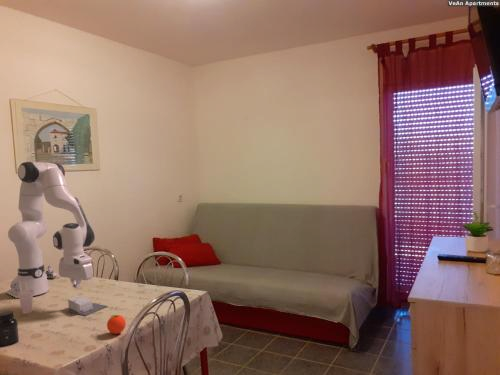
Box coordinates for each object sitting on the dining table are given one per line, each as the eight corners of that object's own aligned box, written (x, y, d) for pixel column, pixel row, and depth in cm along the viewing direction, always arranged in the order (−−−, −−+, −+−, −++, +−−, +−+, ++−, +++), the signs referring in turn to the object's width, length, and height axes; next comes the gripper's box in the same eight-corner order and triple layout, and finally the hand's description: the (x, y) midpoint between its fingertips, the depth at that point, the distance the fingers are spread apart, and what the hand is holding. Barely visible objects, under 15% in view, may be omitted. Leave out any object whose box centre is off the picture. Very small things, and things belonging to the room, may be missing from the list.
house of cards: (64, 274, 244) (63, 262, 244) (55, 278, 236) (54, 266, 235) (51, 274, 246) (50, 262, 245) (42, 278, 237) (41, 266, 237)
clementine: (103, 332, 153) (102, 315, 152) (120, 327, 158) (118, 309, 157) (112, 338, 147) (111, 320, 147) (129, 332, 152) (128, 314, 152)
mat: (66, 311, 178) (66, 310, 178) (89, 303, 188) (88, 302, 188) (85, 316, 171) (85, 315, 171) (107, 306, 182) (107, 305, 182)
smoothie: (38, 310, 181) (36, 280, 180) (26, 315, 175) (24, 285, 174) (28, 309, 183) (25, 280, 182) (15, 314, 177) (13, 284, 176)
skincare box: (80, 295, 186) (92, 299, 178) (80, 304, 186) (93, 309, 178) (67, 299, 181) (79, 303, 173) (68, 308, 181) (80, 313, 173)
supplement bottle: (-6, 350, 142) (-8, 317, 141) (1, 342, 148) (-2, 311, 148) (15, 346, 144) (13, 315, 143) (21, 339, 150) (18, 308, 150)
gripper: (53, 258, 184) (56, 287, 185) (82, 261, 174) (85, 291, 175) (65, 255, 190) (68, 283, 191) (94, 258, 180) (96, 287, 181)
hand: (76, 287), depth 183 cm, fingers closed
